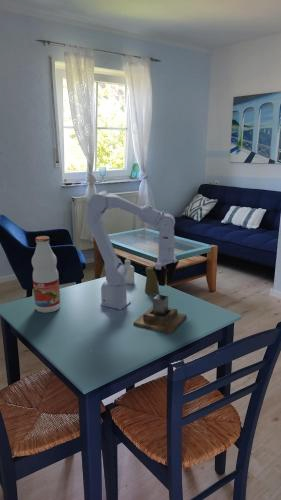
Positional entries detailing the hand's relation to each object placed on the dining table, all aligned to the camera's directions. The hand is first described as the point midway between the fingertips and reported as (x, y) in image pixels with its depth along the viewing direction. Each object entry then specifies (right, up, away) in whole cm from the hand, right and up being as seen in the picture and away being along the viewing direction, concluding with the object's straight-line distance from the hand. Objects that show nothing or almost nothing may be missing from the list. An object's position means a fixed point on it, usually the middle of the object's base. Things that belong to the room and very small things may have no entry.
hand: (166, 282), depth 143 cm
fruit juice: (-45, -10, +4) cm, 46 cm away
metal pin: (-2, -12, -8) cm, 15 cm away
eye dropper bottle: (-15, -3, +28) cm, 32 cm away
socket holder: (-3, -13, -8) cm, 15 cm away
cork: (-5, -6, +19) cm, 20 cm away
